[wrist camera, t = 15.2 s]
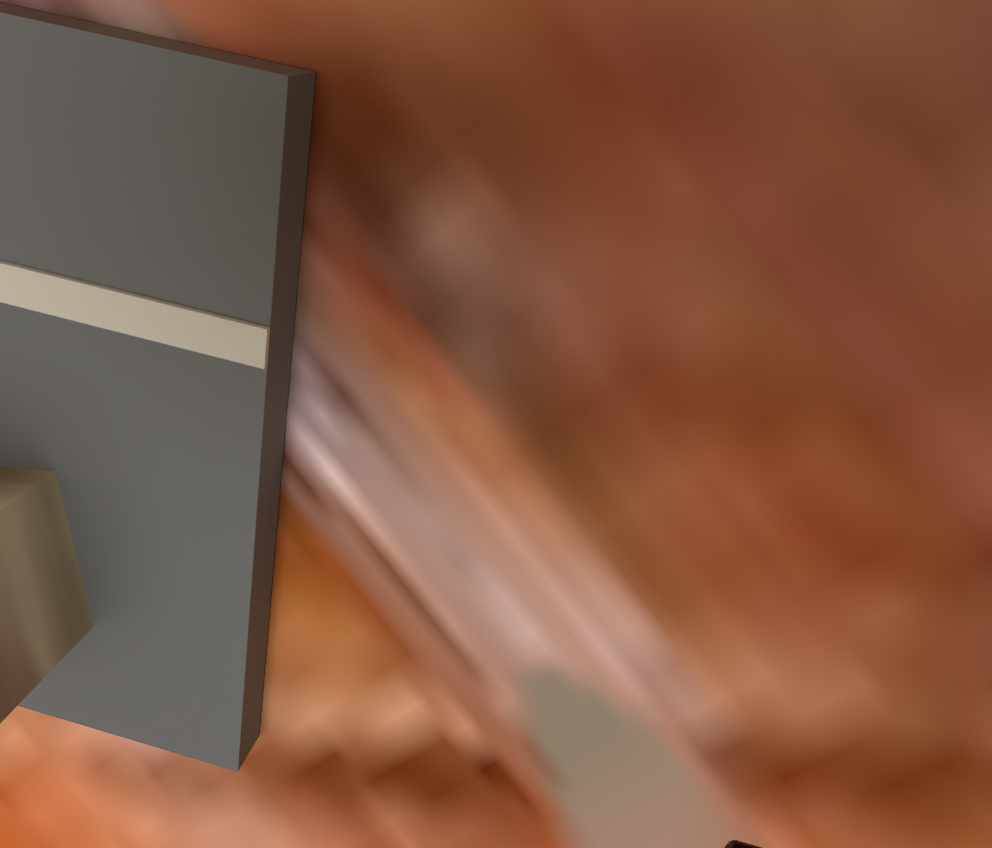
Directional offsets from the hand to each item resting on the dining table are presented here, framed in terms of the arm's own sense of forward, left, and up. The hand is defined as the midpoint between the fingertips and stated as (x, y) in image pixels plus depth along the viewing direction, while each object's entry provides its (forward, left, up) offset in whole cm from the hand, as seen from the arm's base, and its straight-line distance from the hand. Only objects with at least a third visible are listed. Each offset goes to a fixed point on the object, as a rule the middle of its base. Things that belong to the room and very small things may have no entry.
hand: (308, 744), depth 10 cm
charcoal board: (+12, +5, -13) cm, 18 cm away
